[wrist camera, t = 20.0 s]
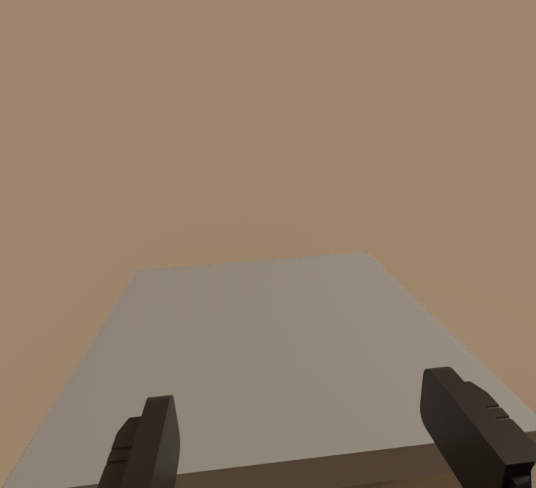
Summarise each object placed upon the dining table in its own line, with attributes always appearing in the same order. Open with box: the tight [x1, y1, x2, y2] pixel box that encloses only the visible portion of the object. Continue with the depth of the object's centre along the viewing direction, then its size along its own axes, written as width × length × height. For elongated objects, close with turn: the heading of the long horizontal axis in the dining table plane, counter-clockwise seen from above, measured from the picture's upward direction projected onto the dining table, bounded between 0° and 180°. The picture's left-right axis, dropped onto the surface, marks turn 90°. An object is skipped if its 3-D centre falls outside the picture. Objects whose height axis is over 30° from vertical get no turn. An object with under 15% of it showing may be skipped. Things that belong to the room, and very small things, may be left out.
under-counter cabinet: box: [2, 252, 536, 488], centre depth 32 cm, size 25×25×24 cm
